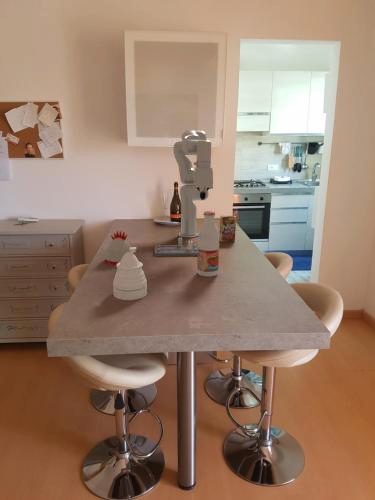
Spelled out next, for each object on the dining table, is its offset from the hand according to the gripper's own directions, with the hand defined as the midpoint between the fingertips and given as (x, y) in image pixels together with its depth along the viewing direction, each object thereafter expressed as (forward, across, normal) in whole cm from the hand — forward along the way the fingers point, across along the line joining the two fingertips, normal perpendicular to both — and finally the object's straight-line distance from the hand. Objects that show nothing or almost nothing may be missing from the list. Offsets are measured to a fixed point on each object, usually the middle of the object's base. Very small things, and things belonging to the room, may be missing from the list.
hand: (202, 199), depth 208 cm
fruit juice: (+27, -2, -43) cm, 51 cm away
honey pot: (+27, -35, -65) cm, 79 cm away
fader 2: (+25, -7, -9) cm, 28 cm away
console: (+27, -14, -7) cm, 31 cm away
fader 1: (+25, -12, -2) cm, 28 cm away
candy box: (+27, +17, +15) cm, 35 cm away
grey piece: (+27, -43, -22) cm, 55 cm away
